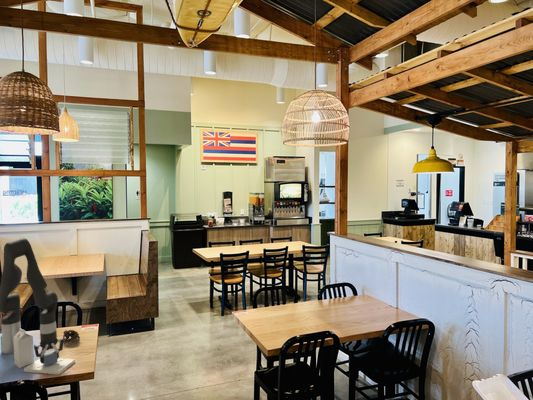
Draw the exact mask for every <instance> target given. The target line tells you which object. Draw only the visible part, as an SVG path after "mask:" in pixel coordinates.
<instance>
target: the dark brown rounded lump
mask: <svg viewBox="0 0 533 400" xmlns="http://www.w3.org/2000/svg"><path fill="white" fill-rule="evenodd" d="M62 333H63V335H62V339H63V340H64V342H63V346H65V345H66V344H70V343H73V342H74V341H75V340H80V339H81V337H80V334H79V333H78V331H76V330H74V329H69V330H64V331H63V332H62Z"/></svg>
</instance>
